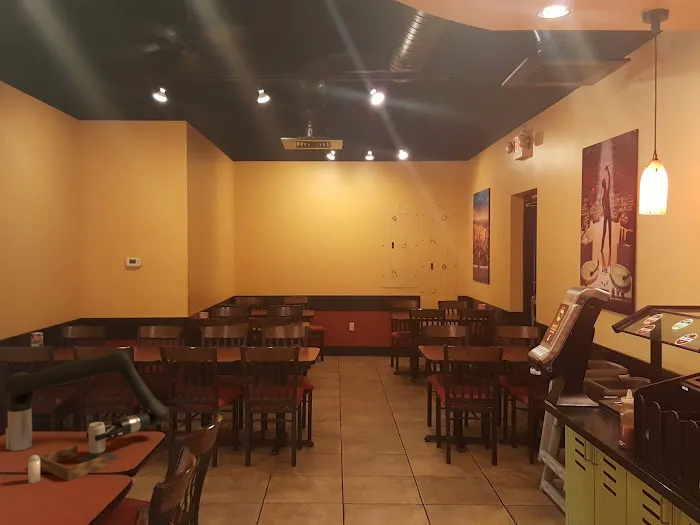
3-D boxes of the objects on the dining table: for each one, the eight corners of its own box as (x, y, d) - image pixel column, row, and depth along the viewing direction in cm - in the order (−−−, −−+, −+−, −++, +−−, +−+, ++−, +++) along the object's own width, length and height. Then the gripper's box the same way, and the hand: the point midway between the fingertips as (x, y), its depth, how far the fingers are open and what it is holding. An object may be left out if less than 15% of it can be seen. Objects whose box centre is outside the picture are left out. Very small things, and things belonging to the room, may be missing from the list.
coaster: (101, 451, 242) (101, 450, 242) (118, 457, 235) (118, 456, 235) (75, 460, 232) (75, 459, 232) (91, 466, 225) (91, 465, 225)
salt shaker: (26, 483, 210) (26, 457, 209) (31, 478, 214) (30, 453, 213) (37, 482, 210) (37, 456, 210) (42, 478, 214) (41, 452, 214)
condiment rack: (75, 455, 238) (75, 445, 238) (107, 466, 225) (106, 455, 225) (37, 467, 224) (37, 456, 224) (68, 480, 212) (68, 469, 212)
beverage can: (99, 455, 230) (98, 426, 229) (85, 454, 231) (85, 425, 231) (108, 449, 236) (108, 421, 236) (95, 448, 237) (94, 420, 237)
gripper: (116, 414, 249) (81, 425, 235) (136, 420, 241) (101, 431, 227) (117, 431, 250) (81, 442, 235) (137, 437, 242) (101, 449, 228)
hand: (91, 436), depth 231 cm, fingers closed on beverage can, 5 cm apart
